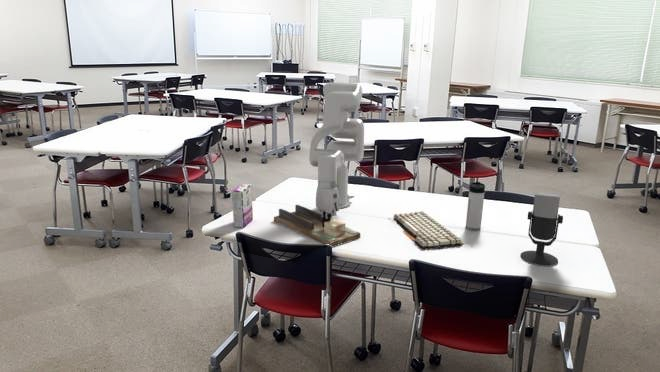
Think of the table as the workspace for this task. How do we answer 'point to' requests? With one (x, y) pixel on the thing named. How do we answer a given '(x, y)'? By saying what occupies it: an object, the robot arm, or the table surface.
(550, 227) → the microphone
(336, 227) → the maple block
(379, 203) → the table surface
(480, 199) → the travel mug
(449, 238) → the mechanical keyboard
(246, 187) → the candy bar box
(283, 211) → the runway board
